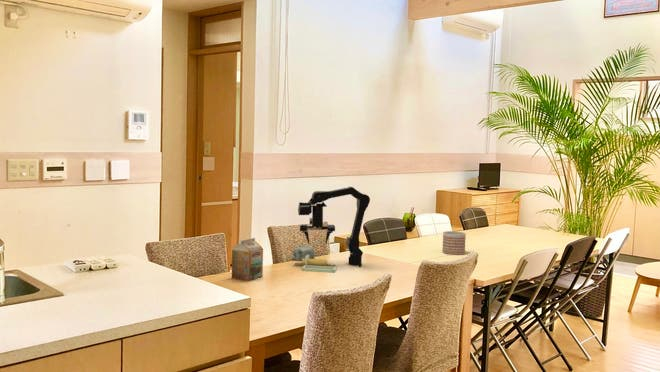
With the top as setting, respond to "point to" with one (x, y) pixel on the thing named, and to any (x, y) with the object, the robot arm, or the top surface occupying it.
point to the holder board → (311, 265)
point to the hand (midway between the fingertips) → (317, 243)
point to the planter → (454, 243)
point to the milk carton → (247, 260)
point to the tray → (319, 268)
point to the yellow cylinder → (315, 262)
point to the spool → (303, 252)
